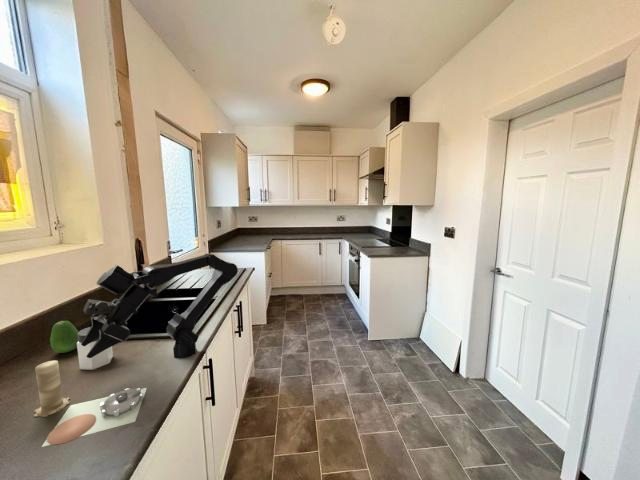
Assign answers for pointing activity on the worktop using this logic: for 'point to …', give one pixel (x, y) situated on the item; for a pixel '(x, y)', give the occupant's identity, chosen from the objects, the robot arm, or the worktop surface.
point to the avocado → (63, 337)
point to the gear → (121, 402)
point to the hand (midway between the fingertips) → (85, 351)
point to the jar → (84, 361)
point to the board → (87, 421)
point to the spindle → (49, 389)
